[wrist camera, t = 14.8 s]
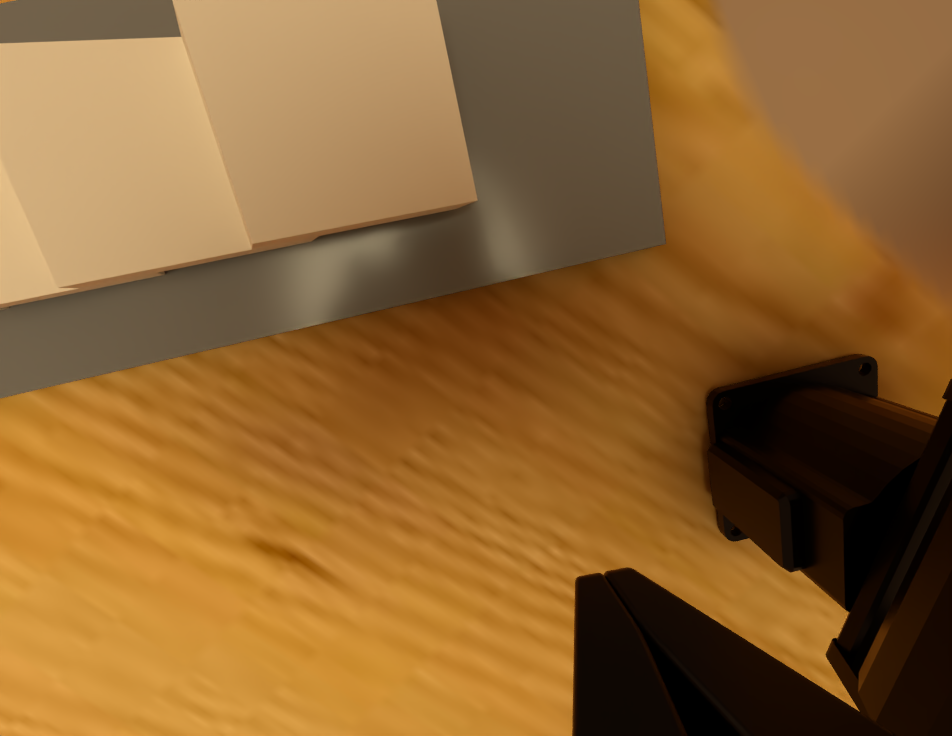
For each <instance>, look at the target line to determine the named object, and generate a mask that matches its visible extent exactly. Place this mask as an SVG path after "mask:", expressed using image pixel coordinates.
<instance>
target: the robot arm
mask: <svg viewBox="0 0 952 736" xmlns="http://www.w3.org/2000/svg"><path fill="white" fill-rule="evenodd" d="M861 365H862V368H861V370H860V371H859V367H860V366H861ZM724 397H725V403H724V404H723V405H722V406H720V407H719V401H720V400H721V399H722V398H724ZM942 398H944V399H947V400H946V402H945V404H944V407H943V409H942V411H941V413H940V415H939V417H937V416H934V415H931V414H927V413H924V412H921V411H918V410H915V409H912V408H909V407H906V406H903V405H900V404H897V403H894V402H891V401H888V400H885V399H882V398H879V397H878V366H877V361H876V360H875V359H874V358H872V357H870V356H866V355H862V354H855V355H851V356H847V357H842V358H838V359H834V360H830V361H826V362H822V363H818V364H814V365H810V366H806V367H802V368H797V369H793V370H789V371H785V372H781V373H777V374H773V375H769V376H765V377H761V378H756V379H752V380H748V381H744V382H740V383H736V384H732V385H728V386H724V387H720V388H717V389H714V390H713V391H712V392H711V393H709V395H708V397H707V402H706V404H707V414H708V424H709V434H710V446H709V448H708V451H707V453H708V463H709V472H710V482H711V492H712V502H713V505H714V507H715V508H716V509H717V514H718V524H719V530H720V532H721V533H722V534H723V535H724V536H725V537H726V538H727V539H728V540H730V541H740V540H744V539H748V538H750V539H751V540H752V541H753V542H754V543H755V544H756V545H757V546H759V547H760V548H761V549H762V550H763V551H764V552H765V553H766V554H767V555H768V556H770V557H771V558H772V559H773V560H774V561H775V562H776V563H777V564H778V565H780V566H781V567H782V568H784V569H786V570H787V571H789V572H794V571H798V570H800V571H801V572H802V573H804V574H805V575H806V576H807V577H808V578H809V579H811V580H812V581H813V582H814V583H815V584H816V585H817V586H819V587H820V588H821V589H822V590H823V591H824V592H826V593H827V594H828V595H829V596H830V597H831V598H832V599H834V600H835V601H836V602H837V603H838V604H839V605H841V606H842V607H843V608H844V609H845V610H846V611H848V612H849V614H848V616H847V619H846V621H845V623H844V625H843V627H842V630H841V632H840V634H839V636H838V638H833V639H832V641H831V643H830V646H829V648H828V650H827V652H826V657H827V659H828V660H829V662H830V664H831V665H832V667H833V669H834V670H835V672H836V673H837V675H838V677H839V678H840V680H841V682H842V683H843V685H844V687H845V688H846V690H847V691H848V693H849V695H850V696H851V698H852V700H853V701H854V703H855V705H856V706H857V708H858V709H859V711H860V712H859V711H858V710H856V709H854V708H853V707H851V706H850V705H848V704H847V703H845V702H843V701H842V700H840V699H839V698H837V697H835V696H834V695H832V694H831V693H829V692H828V691H826V690H824V689H823V688H821V687H820V686H818V685H816V684H815V683H813V682H812V681H810V680H808V679H807V678H805V677H804V676H802V675H801V674H799V673H797V672H796V671H794V670H793V669H791V668H789V667H788V666H786V665H785V664H783V663H782V662H780V661H778V660H777V659H775V658H774V657H772V656H770V655H769V654H767V653H766V652H764V651H763V650H761V649H759V648H758V647H756V646H755V645H753V644H751V643H750V642H748V641H747V640H745V639H744V638H742V637H740V636H739V635H737V634H736V633H734V632H732V631H731V630H729V629H728V628H726V627H724V626H723V625H721V624H720V623H718V622H717V621H715V620H713V619H712V618H710V617H709V616H707V615H705V614H704V613H702V612H701V611H699V610H698V609H696V608H694V607H693V606H691V605H690V604H688V603H686V602H685V601H683V600H682V599H680V598H679V597H677V596H675V595H674V594H672V593H671V592H669V591H667V590H666V589H664V588H663V587H661V586H659V585H658V584H656V583H655V582H653V581H652V580H650V579H648V578H647V577H645V576H644V575H642V574H640V573H639V572H637V571H636V570H634V569H632V568H621V569H616V570H611V571H607V572H605V573H604V575H603V574H601V573H595V574H589V575H584V576H579V577H577V578H576V580H575V620H574V674H573V729H572V736H952V379H951V380H950V382H949V384H948V386H947V388H946V391H945V393H944V395H943V397H942ZM733 526H736V527H735V528H734V529H733V530H731V528H732V527H733Z"/></svg>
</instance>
